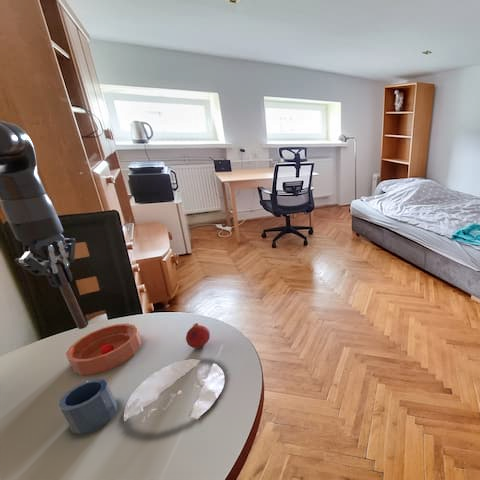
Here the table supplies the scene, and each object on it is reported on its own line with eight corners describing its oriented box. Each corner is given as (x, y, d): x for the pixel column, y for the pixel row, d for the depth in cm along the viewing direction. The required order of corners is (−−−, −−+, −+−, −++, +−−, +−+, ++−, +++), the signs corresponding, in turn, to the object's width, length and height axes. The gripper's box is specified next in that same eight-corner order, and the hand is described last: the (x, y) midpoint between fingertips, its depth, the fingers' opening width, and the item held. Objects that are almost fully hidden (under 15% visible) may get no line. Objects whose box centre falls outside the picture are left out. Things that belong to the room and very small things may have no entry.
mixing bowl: (58, 379, 71) (49, 364, 70) (100, 339, 85) (94, 325, 83) (121, 373, 73) (114, 358, 71) (152, 335, 87) (147, 321, 85)
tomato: (99, 357, 77) (96, 349, 76) (107, 350, 80) (103, 342, 79) (111, 356, 78) (107, 348, 77) (117, 349, 80) (114, 341, 79)
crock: (62, 438, 58) (47, 412, 55) (90, 405, 65) (78, 380, 62) (102, 433, 59) (89, 407, 56) (125, 401, 66) (115, 376, 63)
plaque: (141, 373, 72) (140, 369, 72) (227, 354, 79) (226, 350, 78) (108, 453, 55) (105, 448, 54) (221, 419, 61) (220, 415, 61)
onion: (205, 354, 79) (199, 331, 76) (185, 354, 79) (177, 331, 76) (215, 340, 84) (210, 317, 81) (196, 340, 84) (190, 317, 81)
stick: (76, 329, 74) (47, 267, 68) (81, 325, 76) (54, 264, 69) (84, 328, 74) (56, 267, 68) (89, 324, 76) (62, 263, 69)
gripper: (42, 209, 70) (69, 272, 76) (-21, 227, 57) (18, 300, 64) (75, 207, 71) (100, 270, 77) (21, 225, 58) (56, 298, 64)
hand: (63, 283), depth 70 cm, fingers closed on stick, 2 cm apart
